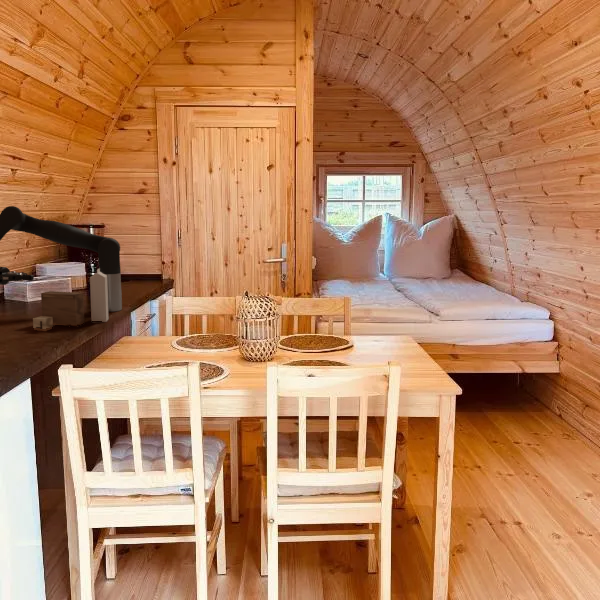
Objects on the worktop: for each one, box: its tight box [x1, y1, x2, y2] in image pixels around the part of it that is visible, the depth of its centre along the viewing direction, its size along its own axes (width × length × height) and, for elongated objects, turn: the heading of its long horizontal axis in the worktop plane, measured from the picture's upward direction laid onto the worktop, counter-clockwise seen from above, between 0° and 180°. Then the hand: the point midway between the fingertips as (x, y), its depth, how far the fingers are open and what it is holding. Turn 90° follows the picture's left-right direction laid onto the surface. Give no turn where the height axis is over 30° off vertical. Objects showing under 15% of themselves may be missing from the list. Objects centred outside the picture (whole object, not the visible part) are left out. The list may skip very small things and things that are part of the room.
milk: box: [89, 267, 109, 323], centre depth 248 cm, size 6×6×22 cm
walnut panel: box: [40, 290, 85, 325], centre depth 240 cm, size 6×15×13 cm, turn 79°
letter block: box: [32, 315, 54, 329], centre depth 229 cm, size 5×5×5 cm
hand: (32, 277), depth 244 cm, fingers closed
